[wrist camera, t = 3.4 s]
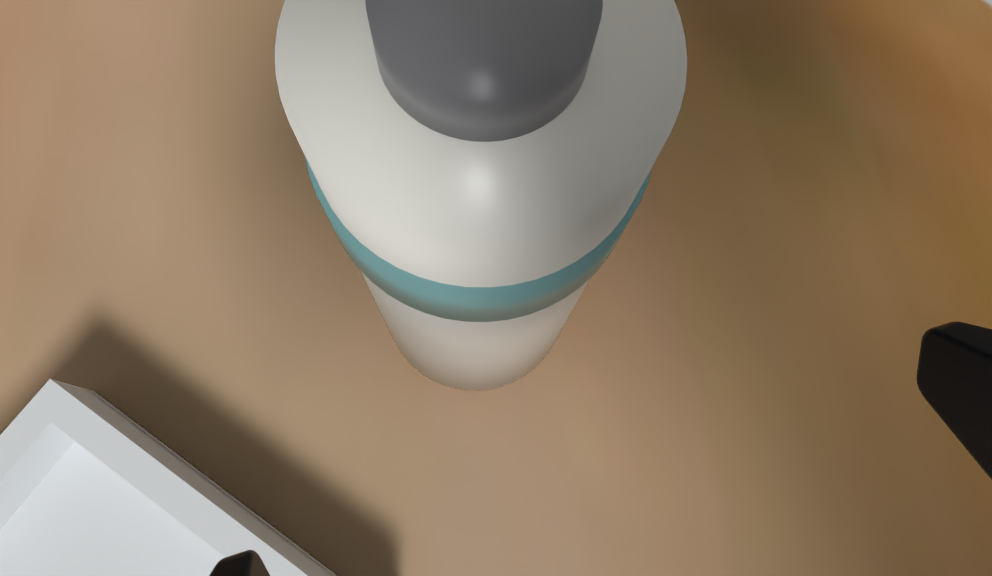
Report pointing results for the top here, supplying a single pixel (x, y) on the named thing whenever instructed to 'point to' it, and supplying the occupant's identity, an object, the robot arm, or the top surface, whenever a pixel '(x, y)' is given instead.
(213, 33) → the top surface
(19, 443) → the tray
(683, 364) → the top surface
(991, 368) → the robot arm
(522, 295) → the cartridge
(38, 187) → the top surface
